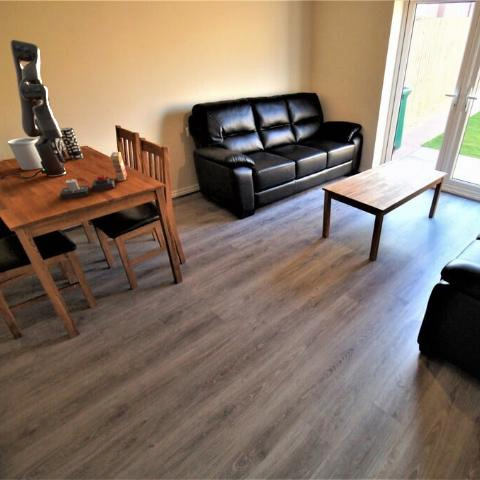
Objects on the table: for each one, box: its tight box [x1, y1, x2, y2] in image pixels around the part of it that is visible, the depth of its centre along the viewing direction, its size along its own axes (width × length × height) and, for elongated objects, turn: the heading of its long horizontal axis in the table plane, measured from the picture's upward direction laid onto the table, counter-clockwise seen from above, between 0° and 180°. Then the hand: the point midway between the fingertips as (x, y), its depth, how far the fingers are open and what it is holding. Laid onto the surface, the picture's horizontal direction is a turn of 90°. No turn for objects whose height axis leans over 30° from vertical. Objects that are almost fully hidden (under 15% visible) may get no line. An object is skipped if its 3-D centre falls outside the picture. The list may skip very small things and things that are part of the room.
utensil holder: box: [7, 137, 43, 171], centre depth 211 cm, size 15×15×18 cm
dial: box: [65, 178, 80, 191], centre depth 175 cm, size 5×5×5 cm
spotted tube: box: [60, 127, 84, 160], centre depth 227 cm, size 8×8×20 cm
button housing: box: [91, 176, 116, 192], centre depth 186 cm, size 10×9×5 cm
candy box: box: [110, 151, 128, 182], centre depth 195 cm, size 9×4×15 cm, turn 20°
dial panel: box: [59, 184, 91, 201], centre depth 177 cm, size 12×10×3 cm
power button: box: [96, 174, 107, 180], centre depth 185 cm, size 4×4×2 cm
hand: (63, 159), depth 170 cm, fingers open, 8 cm apart
